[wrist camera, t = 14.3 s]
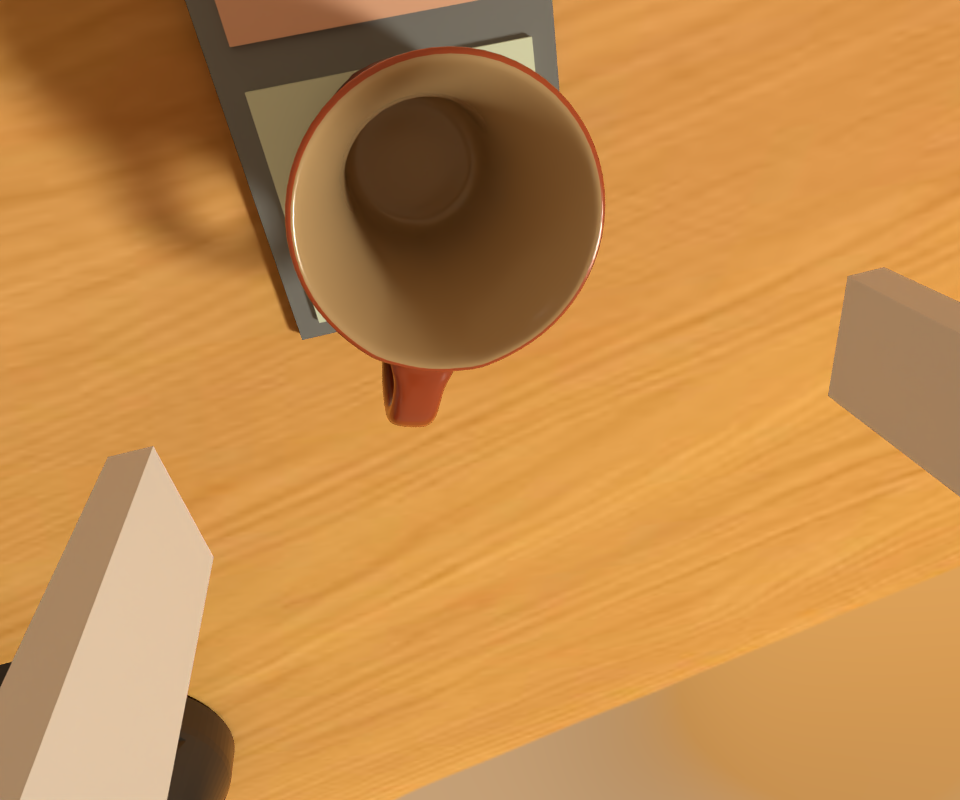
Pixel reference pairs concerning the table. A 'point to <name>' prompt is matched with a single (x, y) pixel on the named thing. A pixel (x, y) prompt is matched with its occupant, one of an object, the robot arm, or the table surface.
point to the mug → (443, 215)
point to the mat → (334, 77)
